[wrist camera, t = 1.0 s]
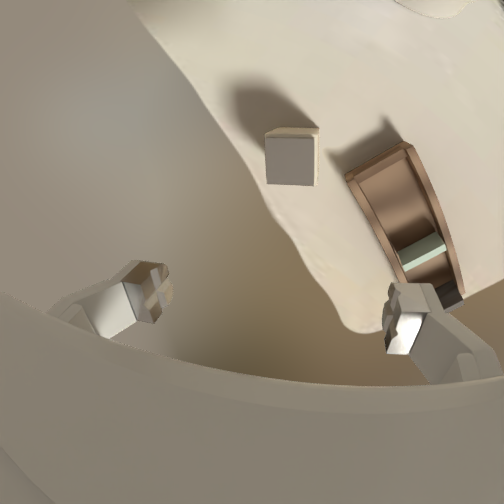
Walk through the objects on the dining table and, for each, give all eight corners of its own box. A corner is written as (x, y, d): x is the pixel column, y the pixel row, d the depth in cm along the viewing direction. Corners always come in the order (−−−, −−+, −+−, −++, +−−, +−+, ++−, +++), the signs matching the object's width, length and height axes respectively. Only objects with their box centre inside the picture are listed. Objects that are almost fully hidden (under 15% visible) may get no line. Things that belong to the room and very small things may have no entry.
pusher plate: (397, 251, 33) (402, 266, 30) (436, 231, 30) (444, 243, 27) (399, 257, 33) (404, 271, 30) (438, 237, 30) (446, 250, 27)
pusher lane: (344, 174, 31) (348, 188, 26) (403, 140, 27) (419, 148, 22) (410, 300, 38) (417, 327, 33) (457, 277, 33) (469, 301, 28)
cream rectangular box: (278, 127, 30) (261, 135, 23) (319, 128, 29) (317, 136, 22) (279, 166, 33) (263, 187, 25) (319, 167, 32) (316, 189, 24)
